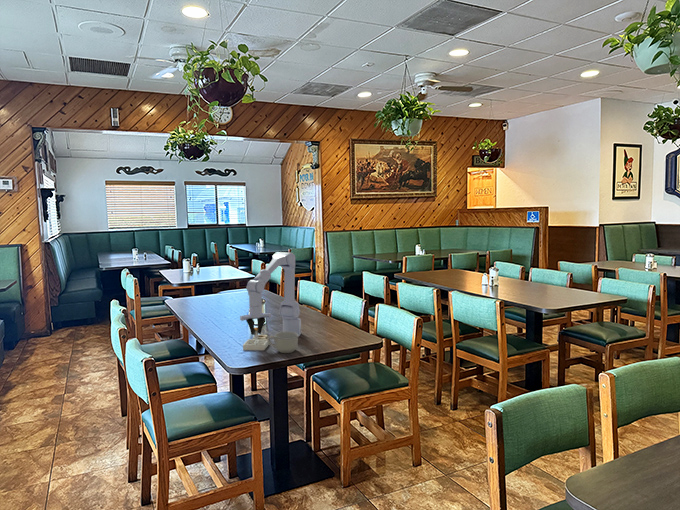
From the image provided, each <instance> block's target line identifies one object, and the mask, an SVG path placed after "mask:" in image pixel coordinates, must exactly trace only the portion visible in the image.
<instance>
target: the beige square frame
mask: <svg viewBox="0 0 680 510" xmlns="http://www.w3.org/2000/svg"><path fill="white" fill-rule="evenodd" d="M268 335H269V334H258V339H268V337H269V336H268ZM252 339H254V336H253V337H252Z"/></svg>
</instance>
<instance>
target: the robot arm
mask: <svg viewBox="0 0 680 510" xmlns="http://www.w3.org/2000/svg"><path fill="white" fill-rule="evenodd" d="M279 267H281V268H282V269H283V271H284V274H283V275H284V277H283V279H284V280H283V281H284V285H283V286H284V288H283V289H284V291H283V295H284V296H283V300H282V301H281V302H280V306H279V308H278V309H279V310H278V313H279V316H280V317H281V319H282V332H295V333H297V334H298V338H299V337H300V336H301V334H302V319H301V318H299V316H300V314H301V309H300V303H299V302H298V301H296V299H295V295H296V294H295V291H296V290H295V285H296V284H295V282H296V280H295V279H296V277H295V276H296V275H295V273H296V272H295V271H296V255H295V254H294V253H293V252H290V251H289V252H286V251H285V252H284V251H283V252H282V251H280V252H279V251H276V252H275V253H274V254H273V255H272V259H271V261H270V262H269V263H268V265H267V266H266V268H265V269H260V270H259V272H258V273H257V275H256V276H255V277H254V278H252V279H250V280H249V281H247V283H246V291H247V295H248V296H249V298H248V299H249V305H248V308H249V314H245V315H240V316H239V320H240V321H241V322H244V321H246V323H247V325H248V327H249V329H250V335H252V336H254V328H255V320H256V321H257V327H258V328H259V330H258V335H262V330H263V327H264V324H265V322H266V318H267V319H268V318H270V319H271V318H272V313H270V312H263V311H262V309H263V307H262V306H263V304H262V300H263V299H262V298H263V297H262V292H264V290H265V287H266V284H267V283H268V281H269V280H270V279H271V278H272V275H271V274H272V273H274V272H275V270H277V268H279Z"/></svg>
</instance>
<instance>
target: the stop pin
mask: <svg viewBox="0 0 680 510" xmlns="http://www.w3.org/2000/svg"><path fill="white" fill-rule="evenodd" d="M258 330H259V328H258V326H257V327H255V326H254V335H253V337H254V345H258V335H259V333H258Z"/></svg>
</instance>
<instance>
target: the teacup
mask: <svg viewBox="0 0 680 510" xmlns="http://www.w3.org/2000/svg"><path fill="white" fill-rule="evenodd" d="M270 339H273V340H274V343H272V342H271V340H270ZM267 341H268V343H269V345H270V346H271V347H273V348H274V349H276V350H277V351H278V352H279V353H282V354H290V353H293V352H294V351H296V350H297V348H298V344H299V337H298V334H297V333H295V332H283V331H279V332H276V333H275V334H274V335H269V336H268V340H267Z"/></svg>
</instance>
